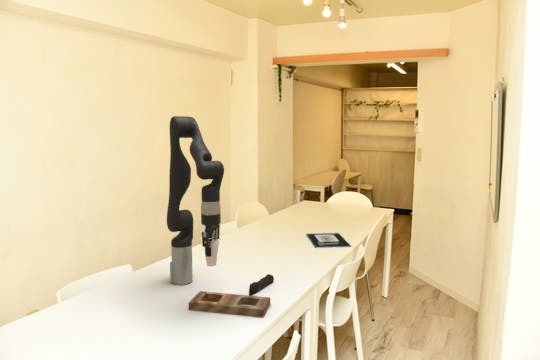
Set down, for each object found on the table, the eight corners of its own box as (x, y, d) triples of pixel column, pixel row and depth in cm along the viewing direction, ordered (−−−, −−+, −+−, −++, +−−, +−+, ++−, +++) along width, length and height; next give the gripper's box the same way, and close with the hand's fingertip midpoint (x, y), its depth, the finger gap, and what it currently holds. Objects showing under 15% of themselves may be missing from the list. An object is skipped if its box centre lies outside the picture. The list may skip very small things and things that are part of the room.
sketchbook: (315, 249, 259) (315, 245, 259) (305, 235, 289) (305, 232, 288) (351, 247, 261) (351, 244, 261) (338, 234, 291) (338, 231, 291)
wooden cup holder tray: (188, 309, 174) (188, 301, 174) (200, 297, 186) (200, 290, 185) (263, 317, 167) (263, 309, 167) (270, 304, 179) (270, 297, 179)
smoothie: (220, 262, 179) (220, 228, 177) (218, 267, 173) (218, 232, 171) (204, 262, 179) (203, 228, 177) (202, 267, 173) (202, 232, 171)
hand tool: (266, 281, 206) (266, 271, 205) (274, 283, 203) (274, 273, 203) (243, 295, 189) (243, 284, 189) (251, 297, 187) (251, 286, 187)
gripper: (208, 208, 181) (208, 248, 183) (194, 215, 167) (195, 258, 169) (225, 209, 179) (226, 249, 182) (213, 216, 165) (214, 260, 168)
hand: (211, 253), depth 175 cm, fingers closed on smoothie, 6 cm apart
